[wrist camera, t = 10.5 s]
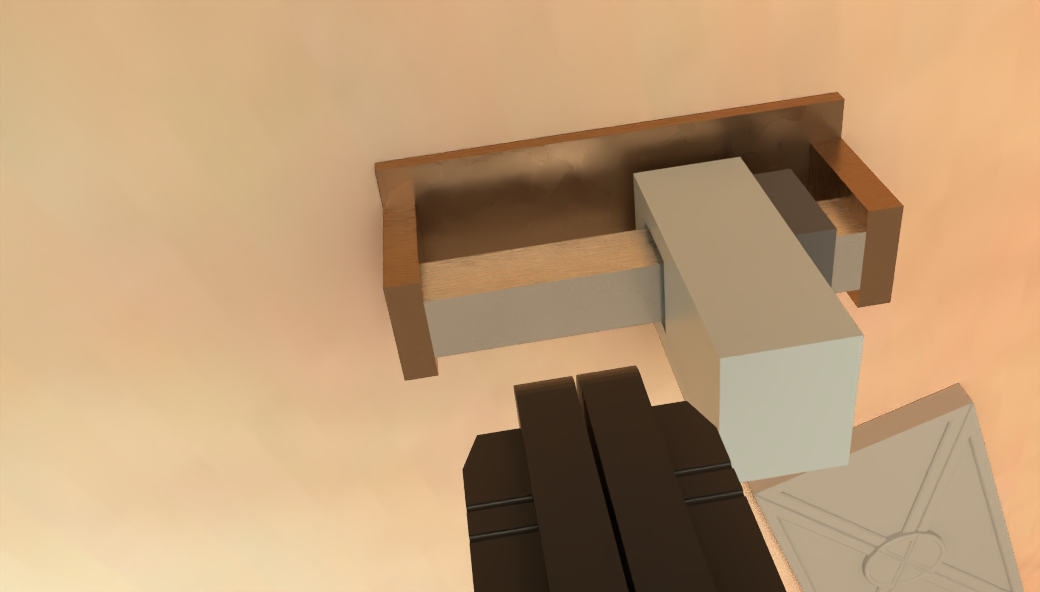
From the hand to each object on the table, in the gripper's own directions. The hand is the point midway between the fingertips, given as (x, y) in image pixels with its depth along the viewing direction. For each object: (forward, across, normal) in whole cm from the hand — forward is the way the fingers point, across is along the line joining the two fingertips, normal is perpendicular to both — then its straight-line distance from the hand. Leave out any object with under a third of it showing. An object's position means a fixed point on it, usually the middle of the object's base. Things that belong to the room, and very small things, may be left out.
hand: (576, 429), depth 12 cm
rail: (+32, -6, +16) cm, 36 cm away
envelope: (+33, -24, +45) cm, 61 cm away
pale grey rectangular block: (+30, -9, +16) cm, 35 cm away
